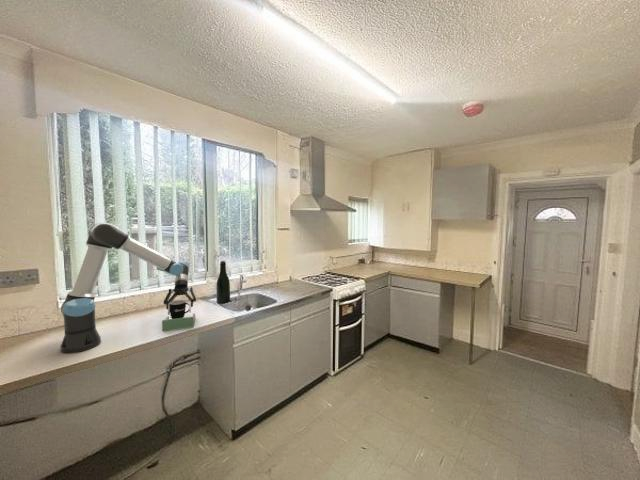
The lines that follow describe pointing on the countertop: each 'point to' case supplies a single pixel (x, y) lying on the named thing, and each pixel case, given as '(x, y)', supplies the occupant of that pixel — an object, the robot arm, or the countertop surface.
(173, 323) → the block
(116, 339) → the countertop surface
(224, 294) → the beer bottle
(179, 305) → the mug
